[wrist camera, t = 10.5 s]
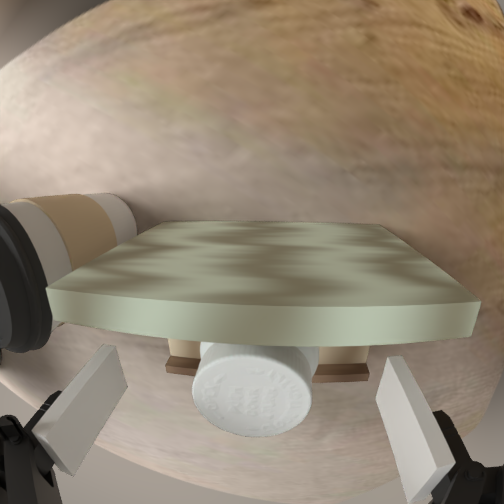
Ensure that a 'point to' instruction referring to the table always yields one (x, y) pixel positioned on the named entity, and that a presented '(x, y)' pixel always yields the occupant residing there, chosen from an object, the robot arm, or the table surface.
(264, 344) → the wooden l-shaped piece
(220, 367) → the pill bottle
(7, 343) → the coffee cup
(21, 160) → the table surface
